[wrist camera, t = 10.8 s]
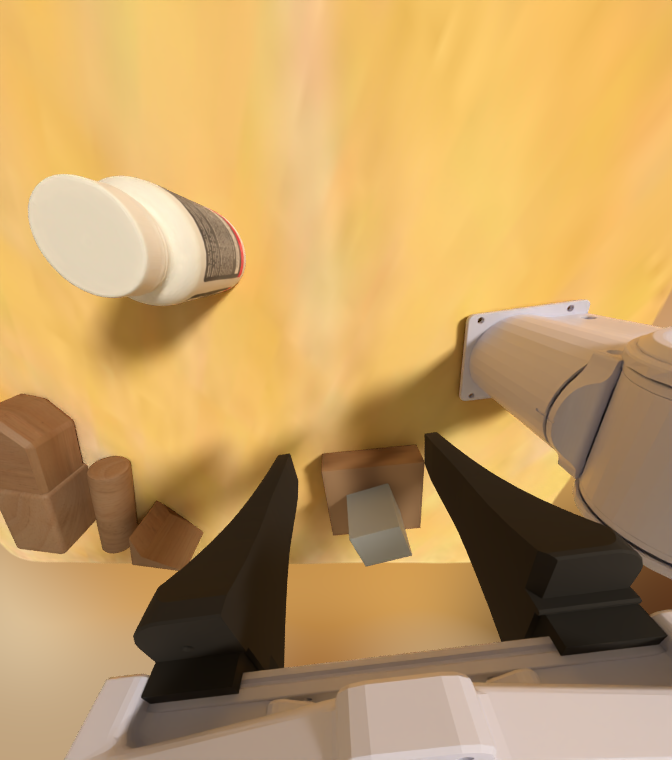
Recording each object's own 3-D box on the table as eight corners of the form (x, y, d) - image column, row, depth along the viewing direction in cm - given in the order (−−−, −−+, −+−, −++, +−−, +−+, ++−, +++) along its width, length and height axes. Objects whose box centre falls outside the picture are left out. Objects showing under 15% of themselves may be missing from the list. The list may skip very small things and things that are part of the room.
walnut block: (414, 441, 26) (424, 461, 23) (412, 504, 30) (420, 527, 28) (322, 450, 26) (321, 471, 24) (333, 511, 31) (333, 535, 28)
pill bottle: (192, 188, 16) (21, 95, 7) (261, 247, 18) (192, 231, 9) (158, 258, 18) (-12, 253, 9) (224, 307, 19) (135, 343, 10)
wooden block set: (6, 565, 25) (-67, 424, 17) (62, 513, 30) (24, 387, 23) (180, 586, 27) (180, 468, 20) (204, 534, 32) (212, 426, 25)
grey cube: (388, 483, 25) (399, 526, 20) (399, 510, 26) (412, 555, 22) (346, 495, 25) (349, 539, 21) (360, 521, 27) (365, 566, 23)
